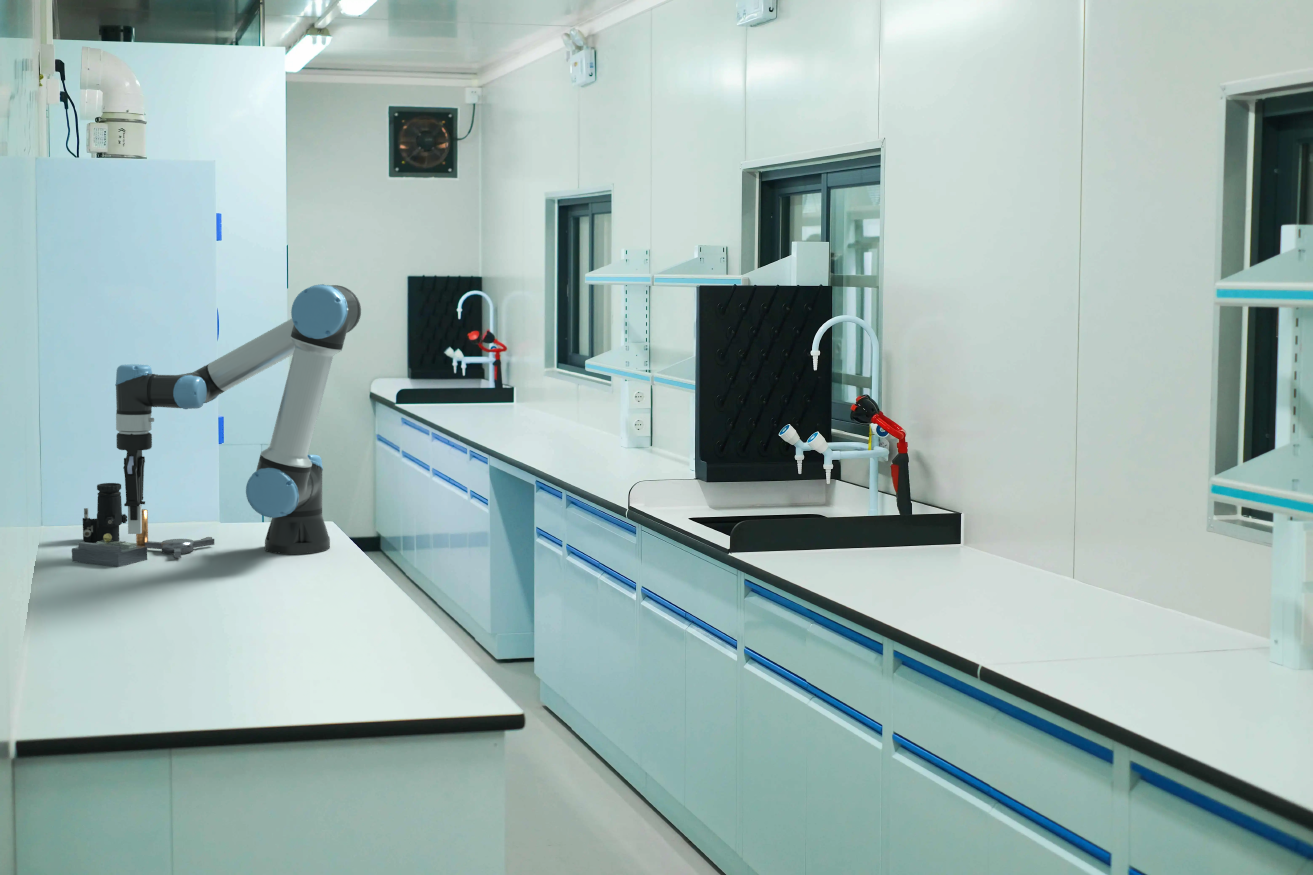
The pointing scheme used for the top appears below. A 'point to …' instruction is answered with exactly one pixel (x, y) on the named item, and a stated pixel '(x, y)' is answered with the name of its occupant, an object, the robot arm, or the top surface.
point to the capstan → (168, 541)
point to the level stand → (109, 552)
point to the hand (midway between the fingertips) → (134, 533)
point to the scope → (105, 514)
